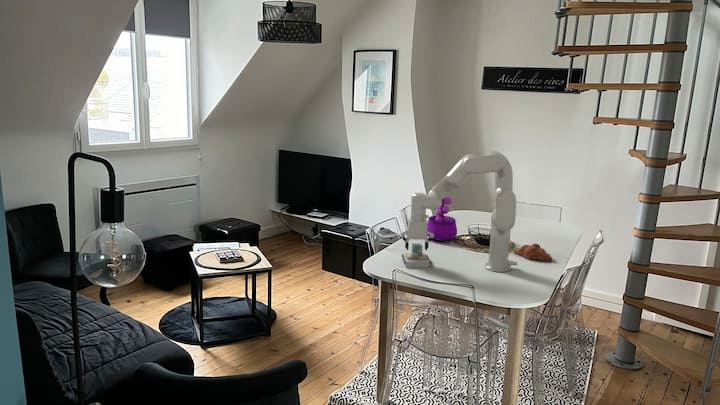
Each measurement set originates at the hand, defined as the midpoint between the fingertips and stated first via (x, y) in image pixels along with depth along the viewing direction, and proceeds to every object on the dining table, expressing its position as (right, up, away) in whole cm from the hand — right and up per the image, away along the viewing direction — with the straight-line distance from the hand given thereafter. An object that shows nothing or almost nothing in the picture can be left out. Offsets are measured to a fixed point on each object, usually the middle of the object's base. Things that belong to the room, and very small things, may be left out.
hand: (416, 249), depth 270 cm
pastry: (+65, -6, +15) cm, 67 cm away
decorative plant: (+19, +2, +44) cm, 48 cm away
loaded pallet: (0, -4, +1) cm, 5 cm away
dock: (0, -7, +2) cm, 7 cm away
